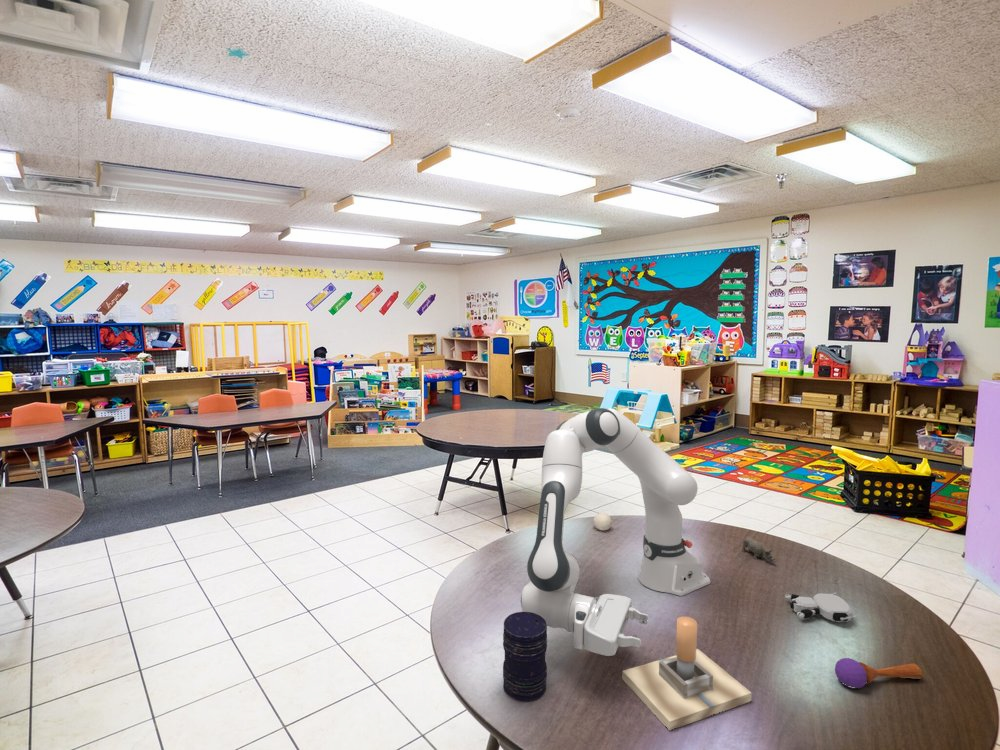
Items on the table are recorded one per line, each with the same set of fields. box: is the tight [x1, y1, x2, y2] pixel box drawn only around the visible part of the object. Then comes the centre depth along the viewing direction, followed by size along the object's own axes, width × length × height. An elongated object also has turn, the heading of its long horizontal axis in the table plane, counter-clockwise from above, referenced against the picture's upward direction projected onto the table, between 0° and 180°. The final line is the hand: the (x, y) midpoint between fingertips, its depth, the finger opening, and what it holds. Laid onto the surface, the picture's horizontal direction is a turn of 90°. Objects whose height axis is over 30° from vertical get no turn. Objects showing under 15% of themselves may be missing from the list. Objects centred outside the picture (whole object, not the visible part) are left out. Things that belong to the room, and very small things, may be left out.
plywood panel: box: [621, 648, 752, 731], centre depth 112 cm, size 22×16×5 cm
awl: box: [675, 616, 698, 681], centre depth 112 cm, size 4×4×14 cm
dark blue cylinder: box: [502, 611, 548, 703], centre depth 113 cm, size 10×10×15 cm
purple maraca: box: [834, 657, 923, 689], centre depth 115 cm, size 6×6×20 cm
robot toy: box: [784, 592, 858, 623], centre depth 142 cm, size 12×4×15 cm
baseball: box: [593, 512, 612, 531], centre depth 201 cm, size 7×7×7 cm
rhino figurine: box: [741, 536, 776, 564], centre depth 176 cm, size 4×14×6 cm, turn 17°
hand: (644, 630), depth 115 cm, fingers open, 8 cm apart
